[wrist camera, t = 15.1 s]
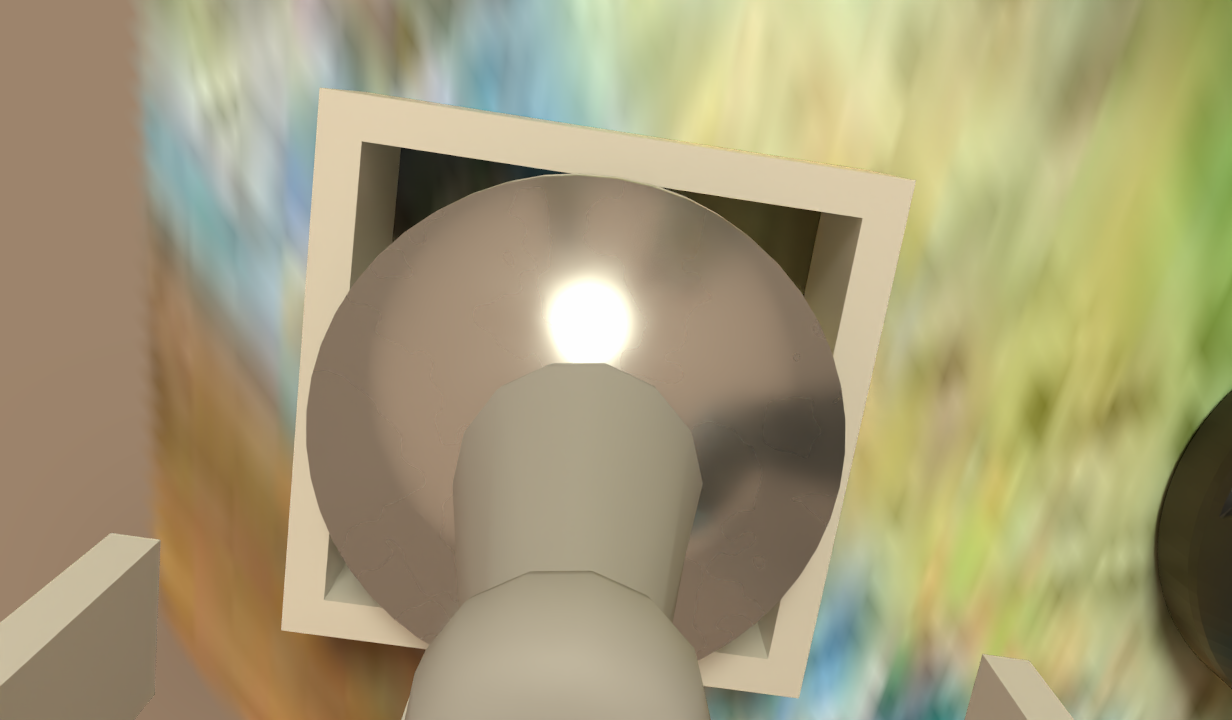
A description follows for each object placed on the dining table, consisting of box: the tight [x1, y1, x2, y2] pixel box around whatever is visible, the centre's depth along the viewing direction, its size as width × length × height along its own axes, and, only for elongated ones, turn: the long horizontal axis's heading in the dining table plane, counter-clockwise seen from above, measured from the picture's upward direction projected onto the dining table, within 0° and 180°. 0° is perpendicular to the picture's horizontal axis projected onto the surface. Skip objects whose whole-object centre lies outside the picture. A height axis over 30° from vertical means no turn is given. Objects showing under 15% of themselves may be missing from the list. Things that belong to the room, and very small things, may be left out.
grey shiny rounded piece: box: [306, 173, 845, 661], centre depth 28 cm, size 18×14×6 cm
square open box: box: [281, 88, 916, 720], centre depth 27 cm, size 17×16×10 cm
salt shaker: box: [405, 363, 711, 720], centre depth 18 cm, size 6×6×13 cm
